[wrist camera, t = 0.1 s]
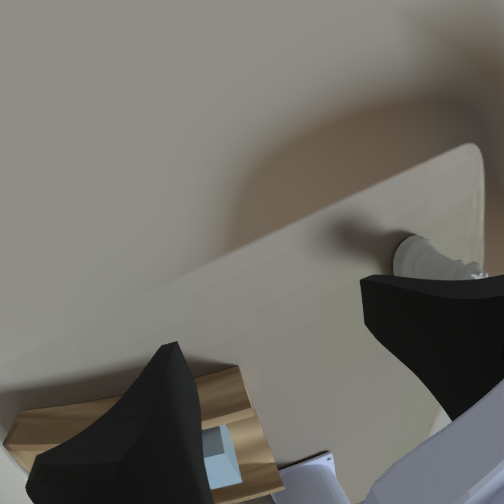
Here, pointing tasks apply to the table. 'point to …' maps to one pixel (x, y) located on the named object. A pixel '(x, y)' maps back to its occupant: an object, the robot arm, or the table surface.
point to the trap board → (212, 414)
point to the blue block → (220, 457)
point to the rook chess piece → (431, 262)
